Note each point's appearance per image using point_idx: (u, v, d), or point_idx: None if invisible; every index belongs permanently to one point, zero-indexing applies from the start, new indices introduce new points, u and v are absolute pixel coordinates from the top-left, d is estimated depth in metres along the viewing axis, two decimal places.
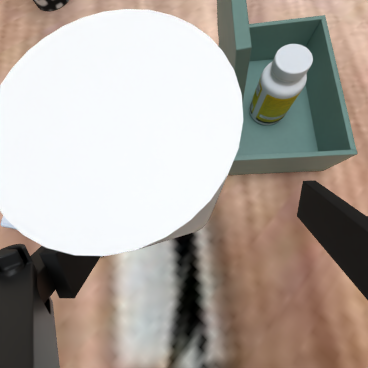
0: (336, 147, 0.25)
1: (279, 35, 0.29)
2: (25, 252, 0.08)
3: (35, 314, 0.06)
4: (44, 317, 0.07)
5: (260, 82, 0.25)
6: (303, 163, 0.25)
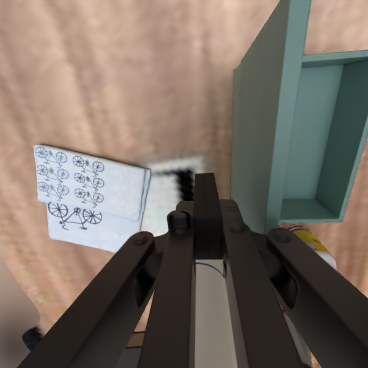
0: (330, 204, 0.28)
1: (322, 62, 0.21)
2: (191, 219, 0.09)
3: (191, 278, 0.07)
4: (193, 281, 0.08)
5: None
6: None
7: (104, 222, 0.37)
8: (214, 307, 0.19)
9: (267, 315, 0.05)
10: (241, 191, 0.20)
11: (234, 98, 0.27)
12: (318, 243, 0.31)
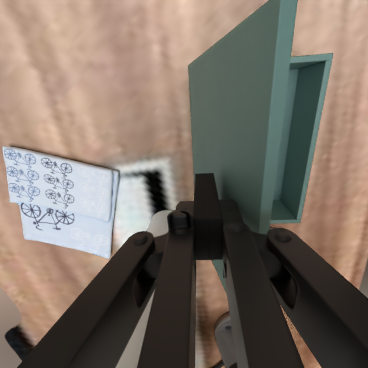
0: (291, 205, 0.29)
1: None
2: (191, 219, 0.09)
3: (191, 278, 0.07)
4: (193, 281, 0.08)
5: None
6: None
7: (77, 222, 0.37)
8: None
9: (267, 315, 0.05)
10: None
11: None
12: None
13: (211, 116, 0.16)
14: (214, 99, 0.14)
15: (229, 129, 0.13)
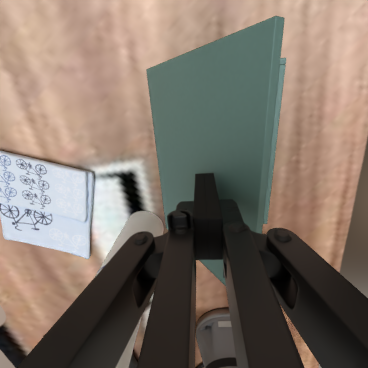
0: None
1: None
2: (191, 219, 0.09)
3: (191, 278, 0.07)
4: (193, 281, 0.08)
5: None
6: None
7: (55, 223, 0.38)
8: None
9: (267, 315, 0.05)
10: (181, 190, 0.21)
11: None
12: None
13: (187, 117, 0.17)
14: (192, 101, 0.16)
15: (215, 127, 0.14)
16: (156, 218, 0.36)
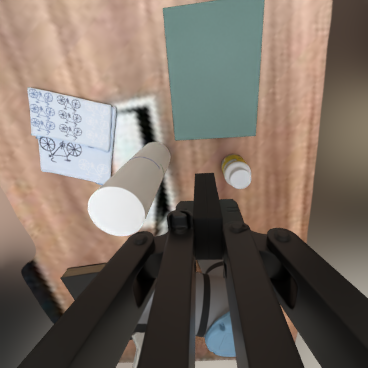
0: None
1: None
2: (191, 219, 0.09)
3: (191, 278, 0.07)
4: (193, 281, 0.08)
5: (224, 174, 0.41)
6: None
7: (83, 154, 0.47)
8: (142, 169, 0.29)
9: (267, 315, 0.05)
10: (200, 93, 0.34)
11: None
12: (241, 159, 0.41)
13: (211, 38, 0.31)
14: (216, 28, 0.30)
15: (234, 40, 0.31)
16: (165, 147, 0.45)
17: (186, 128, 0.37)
